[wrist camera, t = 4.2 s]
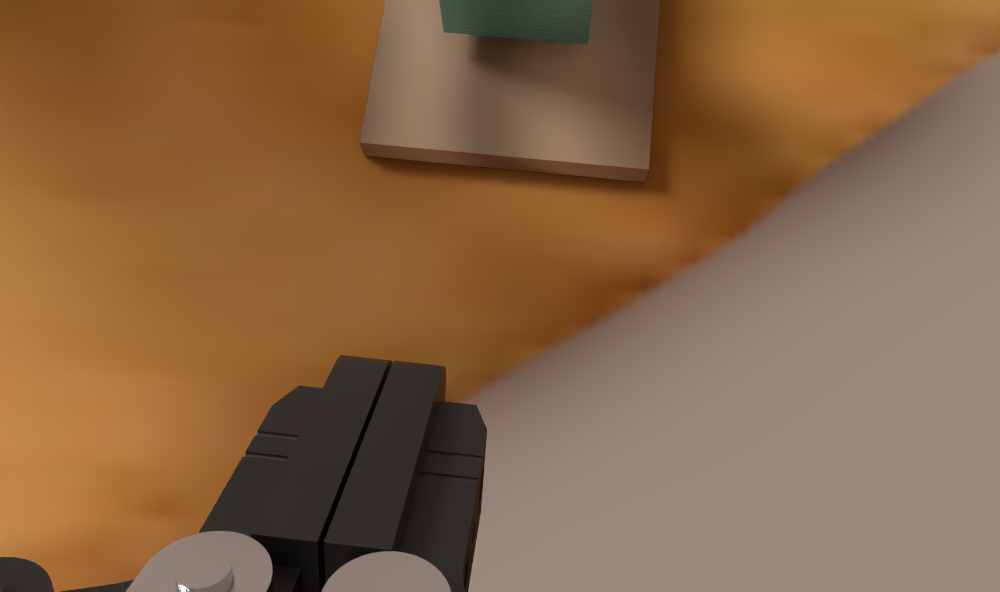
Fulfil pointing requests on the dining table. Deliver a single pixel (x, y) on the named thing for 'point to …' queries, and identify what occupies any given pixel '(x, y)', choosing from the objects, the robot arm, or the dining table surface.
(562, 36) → the slip tube
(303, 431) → the robot arm
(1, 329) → the dining table surface
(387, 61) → the rail board
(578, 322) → the dining table surface
